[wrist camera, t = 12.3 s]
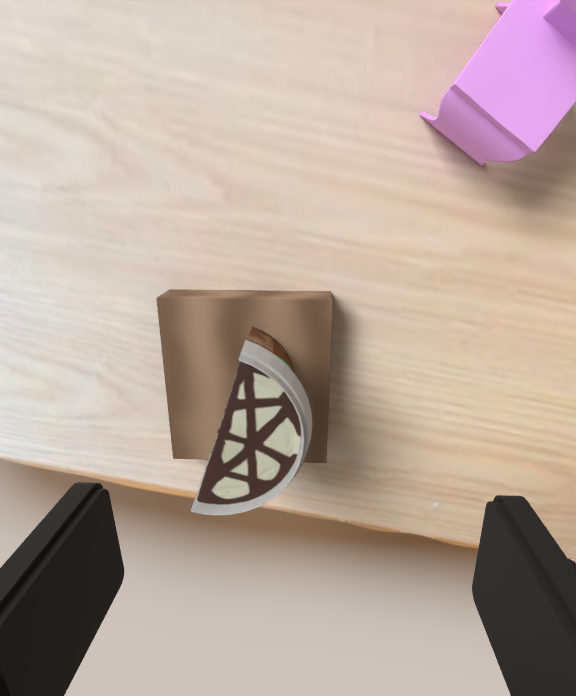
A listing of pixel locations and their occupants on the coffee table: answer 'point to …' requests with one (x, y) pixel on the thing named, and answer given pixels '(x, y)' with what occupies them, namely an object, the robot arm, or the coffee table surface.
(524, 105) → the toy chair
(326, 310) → the walnut block
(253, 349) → the food container
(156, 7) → the coffee table surface
